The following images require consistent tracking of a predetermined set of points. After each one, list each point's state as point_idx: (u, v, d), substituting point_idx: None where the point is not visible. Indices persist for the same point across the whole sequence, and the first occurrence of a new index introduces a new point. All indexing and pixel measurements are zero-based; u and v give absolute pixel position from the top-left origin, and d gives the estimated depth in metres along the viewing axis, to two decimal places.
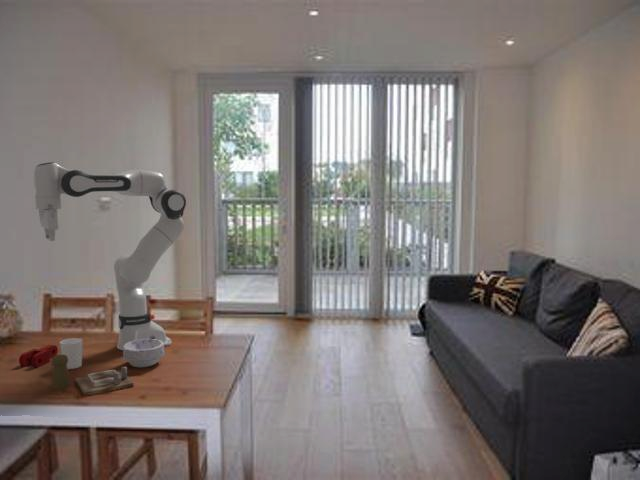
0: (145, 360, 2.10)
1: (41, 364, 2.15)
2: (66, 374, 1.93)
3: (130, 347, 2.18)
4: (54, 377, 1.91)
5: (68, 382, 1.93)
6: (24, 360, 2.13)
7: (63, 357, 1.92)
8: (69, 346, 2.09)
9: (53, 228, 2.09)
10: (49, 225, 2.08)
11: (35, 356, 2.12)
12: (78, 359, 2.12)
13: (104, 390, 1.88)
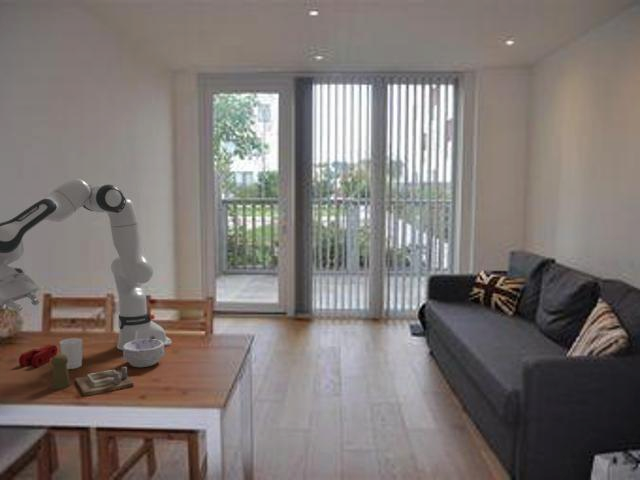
0: (145, 360, 2.10)
1: (41, 364, 2.15)
2: (66, 374, 1.93)
3: (130, 347, 2.18)
4: (54, 377, 1.91)
5: (68, 382, 1.93)
6: (24, 360, 2.13)
7: (63, 357, 1.92)
8: (69, 346, 2.09)
9: None
10: None
11: (35, 356, 2.12)
12: (78, 359, 2.12)
13: (104, 390, 1.88)
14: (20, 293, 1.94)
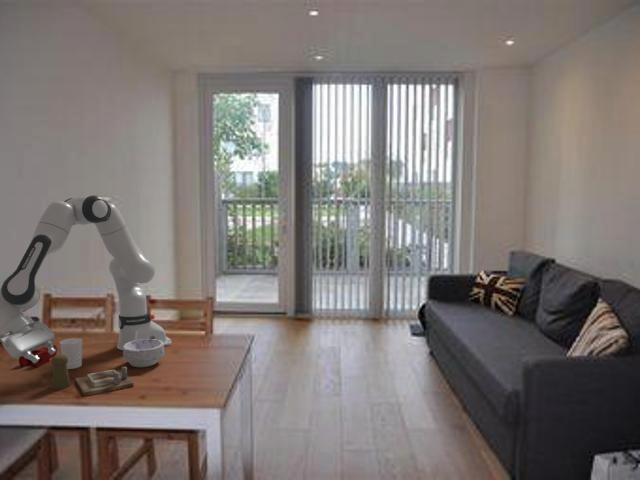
0: (145, 360, 2.10)
1: (41, 364, 2.15)
2: (66, 374, 1.93)
3: (130, 347, 2.18)
4: (54, 377, 1.91)
5: (68, 382, 1.93)
6: (24, 360, 2.13)
7: (63, 357, 1.92)
8: (69, 346, 2.09)
9: (16, 355, 1.83)
10: (11, 355, 1.84)
11: None
12: (78, 359, 2.12)
13: (104, 390, 1.88)
14: (37, 343, 1.92)
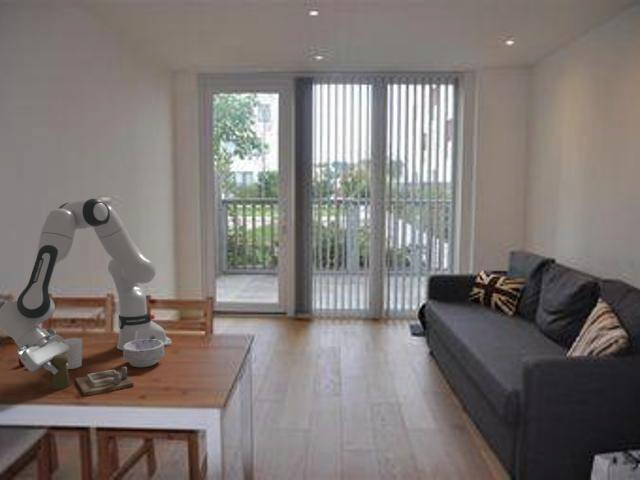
0: (145, 360, 2.10)
1: None
2: (66, 374, 1.93)
3: (130, 347, 2.18)
4: (54, 377, 1.91)
5: (68, 382, 1.93)
6: None
7: (63, 357, 1.92)
8: (69, 346, 2.09)
9: (33, 368, 1.83)
10: (28, 368, 1.83)
11: None
12: (78, 359, 2.12)
13: (104, 390, 1.88)
14: (53, 356, 1.92)
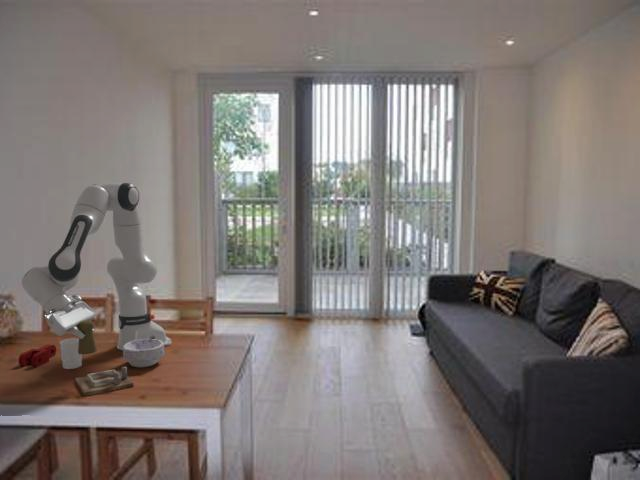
0: (145, 360, 2.10)
1: (41, 364, 2.15)
2: (92, 339, 1.93)
3: (130, 347, 2.18)
4: (80, 342, 1.91)
5: (94, 347, 1.94)
6: (24, 360, 2.13)
7: (89, 322, 1.92)
8: (69, 346, 2.09)
9: (61, 332, 1.84)
10: (55, 332, 1.84)
11: (35, 356, 2.13)
12: (78, 359, 2.12)
13: (104, 390, 1.88)
14: (79, 321, 1.92)
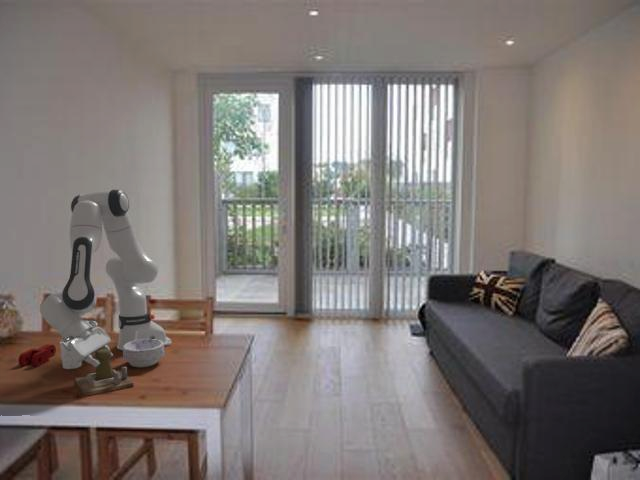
0: (145, 360, 2.10)
1: (41, 363, 2.15)
2: (109, 368, 1.95)
3: (130, 347, 2.18)
4: (98, 371, 1.93)
5: (111, 376, 1.95)
6: (23, 359, 2.13)
7: (107, 351, 1.94)
8: None
9: (79, 359, 1.85)
10: (74, 359, 1.85)
11: (35, 355, 2.13)
12: None
13: (104, 390, 1.88)
14: (96, 348, 1.94)
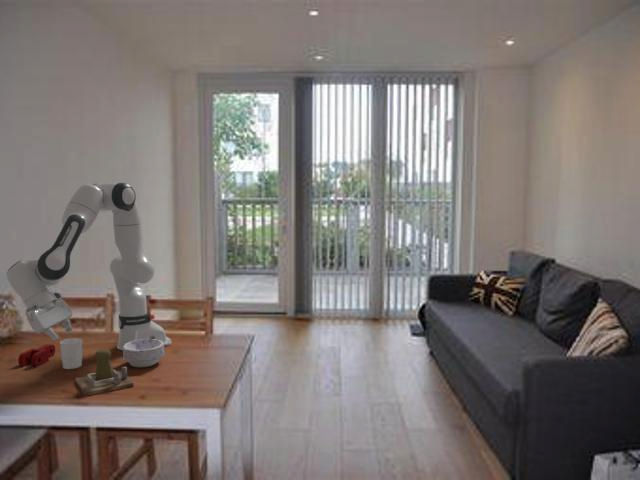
0: (145, 360, 2.10)
1: (40, 363, 2.16)
2: (109, 368, 1.95)
3: (130, 347, 2.18)
4: (98, 371, 1.93)
5: (111, 376, 1.95)
6: (23, 359, 2.14)
7: (107, 351, 1.94)
8: (69, 346, 2.09)
9: (39, 330, 1.86)
10: (34, 330, 1.86)
11: (35, 355, 2.13)
12: (78, 359, 2.12)
13: (104, 390, 1.88)
14: (58, 321, 1.95)
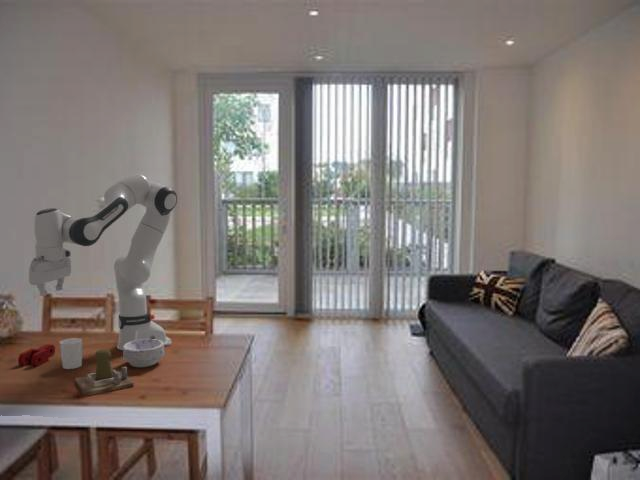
0: (145, 360, 2.10)
1: (40, 363, 2.16)
2: (109, 368, 1.95)
3: (130, 347, 2.18)
4: (98, 371, 1.93)
5: (111, 376, 1.95)
6: (23, 359, 2.14)
7: (106, 351, 1.94)
8: (69, 346, 2.09)
9: (33, 283, 1.89)
10: (29, 280, 1.89)
11: (35, 355, 2.13)
12: (78, 359, 2.12)
13: (104, 390, 1.88)
14: (54, 279, 1.98)
